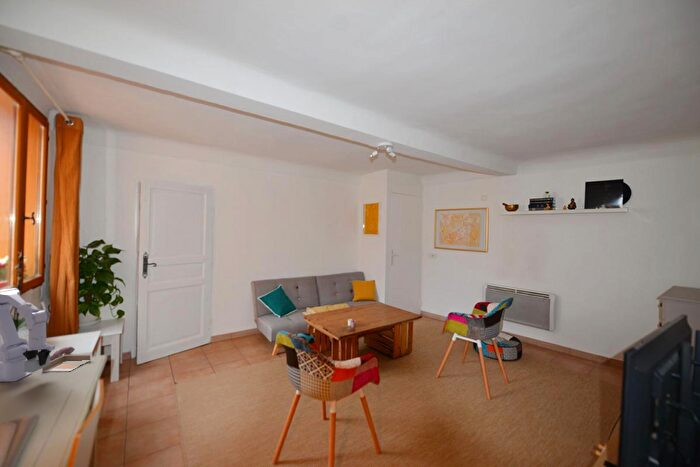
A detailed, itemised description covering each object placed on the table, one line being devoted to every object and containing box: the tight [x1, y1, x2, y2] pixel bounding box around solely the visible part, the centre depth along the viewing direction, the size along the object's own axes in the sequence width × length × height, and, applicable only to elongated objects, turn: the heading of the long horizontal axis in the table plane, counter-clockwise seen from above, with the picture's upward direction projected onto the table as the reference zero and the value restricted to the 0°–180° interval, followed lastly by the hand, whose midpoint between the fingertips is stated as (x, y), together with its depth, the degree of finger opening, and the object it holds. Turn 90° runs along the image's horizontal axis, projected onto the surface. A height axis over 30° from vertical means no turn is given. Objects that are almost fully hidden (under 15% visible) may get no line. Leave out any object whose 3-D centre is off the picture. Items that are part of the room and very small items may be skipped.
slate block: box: [24, 353, 51, 373], centre depth 141 cm, size 4×8×5 cm, turn 1°
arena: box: [41, 354, 91, 373], centre depth 158 cm, size 14×12×4 cm
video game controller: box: [50, 346, 76, 361], centre depth 167 cm, size 10×5×7 cm, turn 169°
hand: (37, 364), depth 141 cm, fingers closed on slate block, 4 cm apart
